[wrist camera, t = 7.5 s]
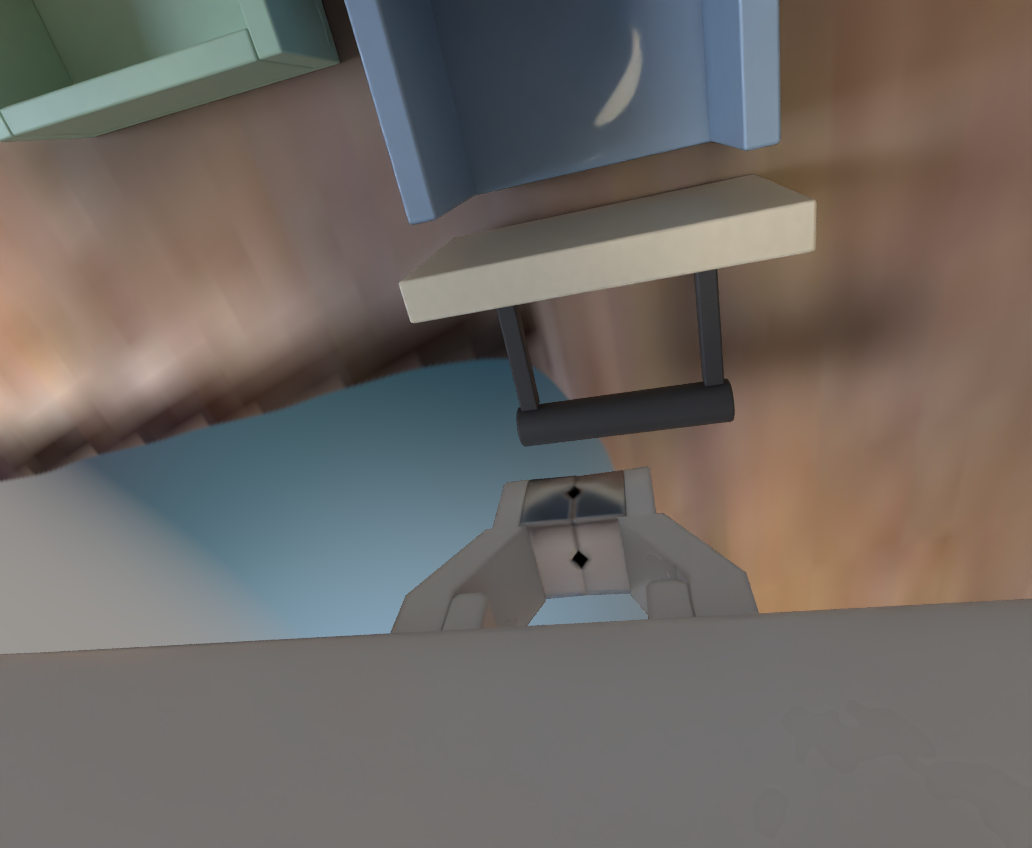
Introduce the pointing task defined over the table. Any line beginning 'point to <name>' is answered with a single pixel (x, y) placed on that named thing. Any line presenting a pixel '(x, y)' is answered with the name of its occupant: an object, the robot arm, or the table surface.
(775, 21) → the drawer
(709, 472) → the table surface
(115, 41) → the tote
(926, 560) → the table surface
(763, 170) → the table surface
